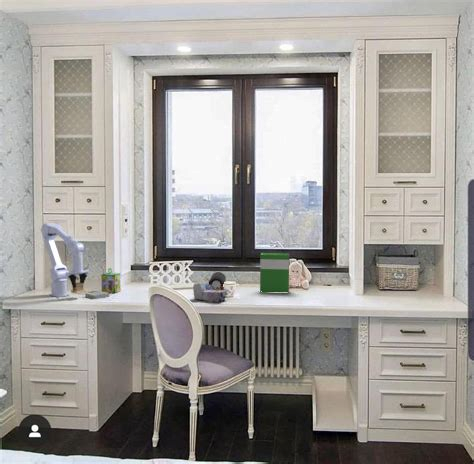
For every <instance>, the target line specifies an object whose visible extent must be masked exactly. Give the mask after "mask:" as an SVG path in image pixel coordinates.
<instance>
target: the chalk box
mask: <svg viewBox="0 0 474 464" xmlns="http://www.w3.org/2000/svg"><path fill="white" fill-rule="evenodd" d="M107 271H108V272H105V273H101V274H100V275H101V277H100V278H101V292H105V293H109V294H115V293H116V294H117V293H119V292H121V290H122V289H121V273H120V272H113V270H112V268H111V267H110V268H108V269H107Z"/></svg>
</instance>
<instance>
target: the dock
mask: <svg viewBox="0 0 474 464" xmlns="http://www.w3.org/2000/svg"><path fill="white" fill-rule="evenodd" d="M84 294H85V298H89V299H93V300H97V299H98V300H99V299H102V298H109V297H110V293H105V292H102V290H99V291H92V292H85V293H84Z"/></svg>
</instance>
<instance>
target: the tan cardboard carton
mask: <svg viewBox="0 0 474 464" xmlns="http://www.w3.org/2000/svg"><path fill="white" fill-rule="evenodd" d="M70 293H72V294H76V295H79V294H85V293H86V290H84V284H83V283H80V282H76V287H75V288H73V287H72V289H71V290H70Z"/></svg>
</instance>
